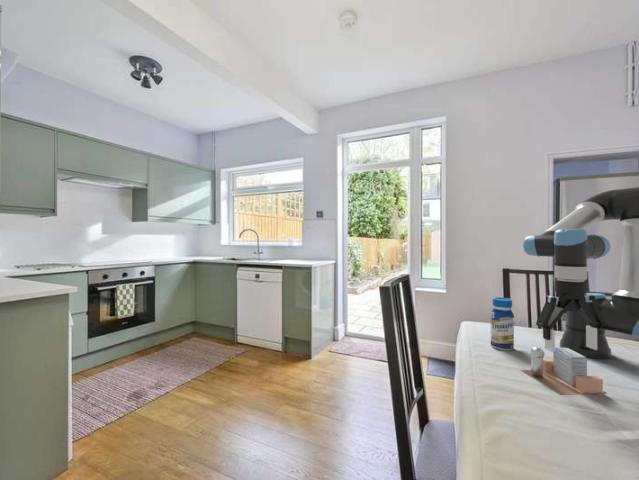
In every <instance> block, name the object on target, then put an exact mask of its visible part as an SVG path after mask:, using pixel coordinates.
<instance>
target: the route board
mask: <svg viewBox="0 0 639 480" xmlns="http://www.w3.org/2000/svg"><path fill="white" fill-rule="evenodd" d="M520 372H522V373H524V374H525V375H527V376H528V377H530V378H532V379H533V380H536V381H537V383H540V384H542V385H544V386H545V387H547V388H548V389H550V390H552V391H554V392H555V393H557V394H558V395H561V396H566V395H567V396H569V395H570V396H571V395H581V394H580V393H578V392H576V391H575V390H573V389H571V388H569V387H567V386H566V385H564V384H562V383H560V382H558V381H557V380H555V379H553V378H551V377H549V376H547V375H546V374H544V373H543V378H537V377H534V376H532V375H531V369H521V370H520ZM603 392H604V393H598V394H607V391H604V390H603ZM598 394H597V395H598Z"/></svg>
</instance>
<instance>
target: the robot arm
mask: <svg viewBox="0 0 639 480" xmlns="http://www.w3.org/2000/svg"><path fill="white" fill-rule="evenodd" d="M574 207H575V208H574V209H573V211H572V212H570V213H569V214H568V215H566V216H565V217H564V218H562V219H560V220H559V221H558V222H556V223H555V224H554V225H552V226H551V227H549V228H548V229H546V230H545V231H544V232H542V233H541V234H538V235H537V234H536V235H535V234H534V235H528V236H526V237H525V238H524V240H523V243H522V247H523V251H524V253H525V254H526V255H528V256H533V257H549V258H550V257H552V258H553V259H554V262H553V263H554V265H553V266H554V267H553V268H554V269H553V270H554V276H553V277H554V278H555V279H554V285H553V287H554V292H555V293H556V296H553V295H546V296H545V303H544V305H543V308H542V309H541V312H540V314H539V315H538V319H537V320H536V322H535V324H536V326H538V327H540V328H542V338H543V339H544V349H545V350H548V351H550V352H552V353H553V352H555V348H556V345H555V344H556V339H555V338H556V333H555V332H556V331H555V329H553V328H554V327H555V326H556V324H557V323H558V321H559V320H560V319H561V318H562V317H563V315H564V314H565V329H564V332H563V334H562V337H561V338H560V341H559V348H569V349H571V350H573V351H575V352H577V353H579V354H581V355H583V356H585V357H586V358H590V359H592V358H593V359H600V360H603V359H604V360H605V359H606V360H607V359H610V358H612V349H611V348H610V346H609V342H608V340H607V337H606V331H609V332H612V333H613V332H614V333H618V334H623V335H626V336H631V337H634V338H639V186H638V187H637V186H635V187H629V188H619V189H611V190H607V191H603V192H600V193H598V194H594V195H592V196H590V197H589V198H586V199H585V200H583V201H582V202H580V203H578V204H577V205H576V206H574ZM612 220H614V221H615V220H616V221H617V220H619V224H620V225H622V226H623V228H624V234H623V243H622V252H621V261H620V272H619V282H618V290H617V291H615V292H614V293H612V294H611V298H610V299H609V298H607V296H606V294H604V293H597V292H596V293H594V292H588V282H587V280H588V263H587V262H588V260H590V259H593V260H596V259H599V258H603V257H604V256H607V255H608V254H609V252H610V251H611V243H610V241H609V240H608V239H607V238H606V237H604V236H602V235H599V234H587V230H586V229H588V228H589V227H591V226H592V225H596V224H598V223H600V222H602V221H612Z"/></svg>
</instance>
